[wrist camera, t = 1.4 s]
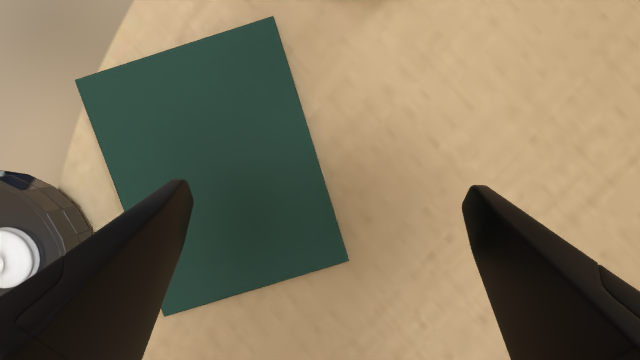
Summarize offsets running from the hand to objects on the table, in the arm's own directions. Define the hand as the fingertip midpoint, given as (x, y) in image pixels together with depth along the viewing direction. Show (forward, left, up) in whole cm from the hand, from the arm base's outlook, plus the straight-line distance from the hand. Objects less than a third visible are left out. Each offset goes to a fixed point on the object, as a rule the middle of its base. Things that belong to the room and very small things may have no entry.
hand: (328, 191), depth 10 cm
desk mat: (+1, +8, -15) cm, 17 cm away
